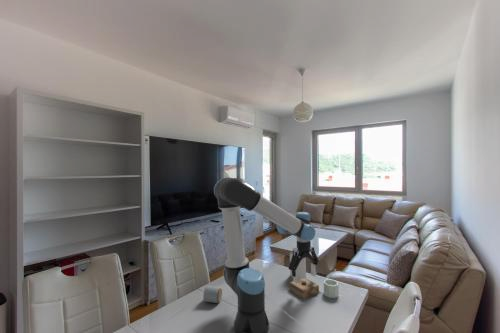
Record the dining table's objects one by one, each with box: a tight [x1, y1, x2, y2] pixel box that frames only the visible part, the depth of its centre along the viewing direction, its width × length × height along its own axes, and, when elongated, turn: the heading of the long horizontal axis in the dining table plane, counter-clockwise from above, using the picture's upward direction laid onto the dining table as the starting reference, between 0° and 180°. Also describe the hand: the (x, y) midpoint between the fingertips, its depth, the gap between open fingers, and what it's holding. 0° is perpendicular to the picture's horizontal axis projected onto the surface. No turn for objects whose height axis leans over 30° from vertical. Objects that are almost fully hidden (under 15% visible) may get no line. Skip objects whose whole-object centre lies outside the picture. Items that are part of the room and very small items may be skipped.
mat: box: [286, 287, 322, 301], centre depth 133 cm, size 14×13×1 cm
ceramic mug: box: [202, 284, 223, 304], centre depth 127 cm, size 11×8×8 cm
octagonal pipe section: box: [323, 278, 340, 299], centre depth 130 cm, size 7×7×7 cm
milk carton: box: [289, 246, 307, 280], centre depth 151 cm, size 7×7×19 cm
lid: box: [289, 277, 320, 298], centre depth 133 cm, size 11×11×5 cm
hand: (304, 278), depth 134 cm, fingers open, 13 cm apart
